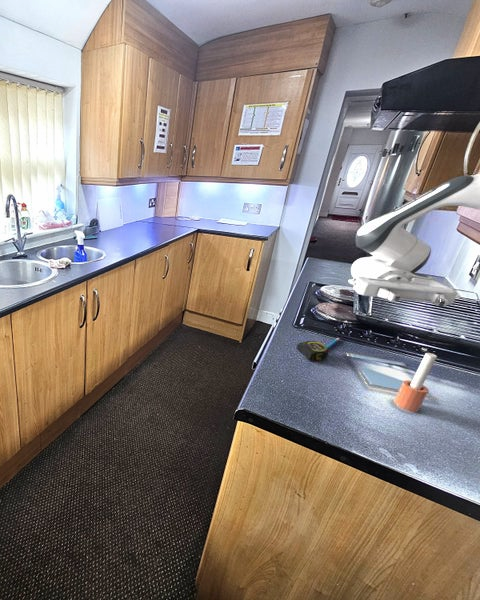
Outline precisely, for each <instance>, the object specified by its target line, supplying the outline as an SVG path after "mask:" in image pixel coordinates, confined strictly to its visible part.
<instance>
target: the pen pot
mask: <svg viewBox="0 0 480 600" xmlns="http://www.w3.org/2000/svg"><path fill="white" fill-rule="evenodd" d="M402 381H403V383H402V385H401V387H400V389H399V391H398V392H396V395H395V398H393V402H394V404H395V405H396V406H397V407H399V408H400V409H403V410H405V411H408V412H412V413H415V412H418V411H420V409H421V408H422V405H423V403H424V401H425V399H427V398H426V396H427V394H428V393H429V392H430V389H429V388H428V387H426V385H424V384H423V385H422V387H421V389H420V390H418V389H414V388H412V387H410V384H411V382H412V380H402Z"/></svg>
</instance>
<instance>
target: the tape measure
mask: <svg viewBox="0 0 480 600" xmlns="http://www.w3.org/2000/svg"><path fill="white" fill-rule="evenodd" d="M326 346H327V345H325V344H324V343H322V342H320V341H316V340H307V341H303V342H299V343H297V344H296V350H297V351H298V352H299V353H300V354H302V355H303V356H304V357H305V358H306V359H307V360H308V361H310V362H315V361H323V360H326V359H327V357H328V356H329V348H327V347H326Z"/></svg>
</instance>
